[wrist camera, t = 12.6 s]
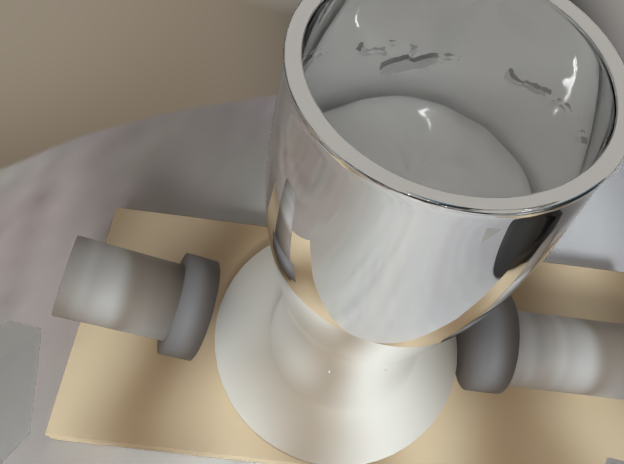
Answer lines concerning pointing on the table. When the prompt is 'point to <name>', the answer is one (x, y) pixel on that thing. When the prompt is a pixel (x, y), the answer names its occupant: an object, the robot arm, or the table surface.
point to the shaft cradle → (291, 405)
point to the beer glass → (424, 174)
